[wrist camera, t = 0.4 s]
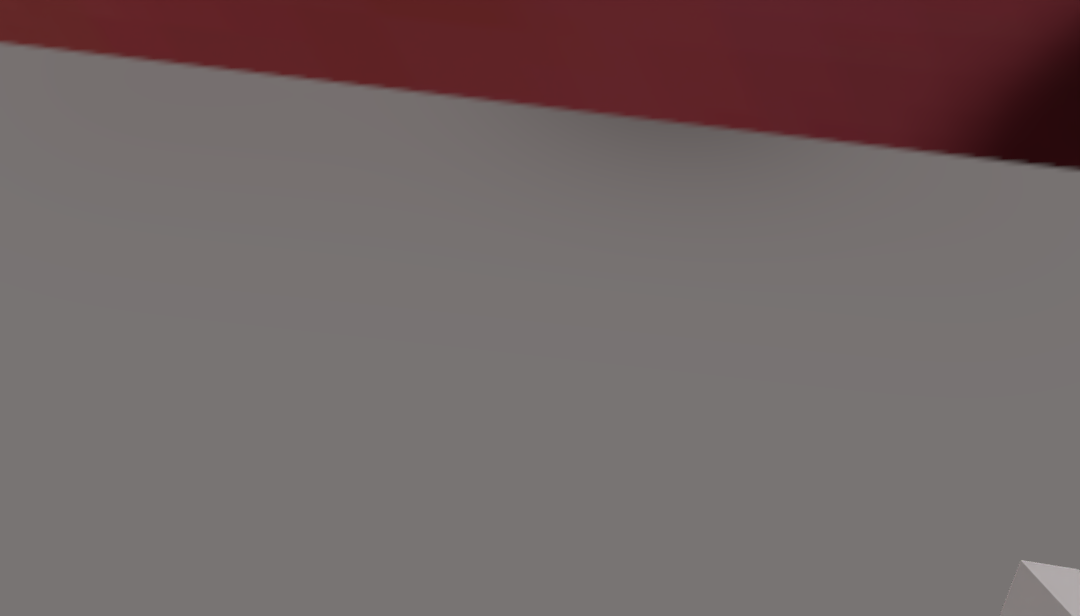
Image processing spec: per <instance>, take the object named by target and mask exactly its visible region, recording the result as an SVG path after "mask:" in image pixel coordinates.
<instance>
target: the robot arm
mask: <svg viewBox="0 0 1080 616" xmlns="http://www.w3.org/2000/svg"><path fill="white" fill-rule="evenodd" d="M1000 616H1080V571H1079V570H1078V569H1073V568H1067V567H1061V566H1054V565H1048V564H1042V563H1036V562H1030V561H1023V560H1020V563H1019V565H1018V568H1017V571H1016V573H1015V576H1014V579H1013V582H1012V584H1011V587H1010V589H1009V592H1008V594H1007V597H1006V600H1005V602H1004V605H1003V608H1002V610H1001V613H1000Z"/></svg>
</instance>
